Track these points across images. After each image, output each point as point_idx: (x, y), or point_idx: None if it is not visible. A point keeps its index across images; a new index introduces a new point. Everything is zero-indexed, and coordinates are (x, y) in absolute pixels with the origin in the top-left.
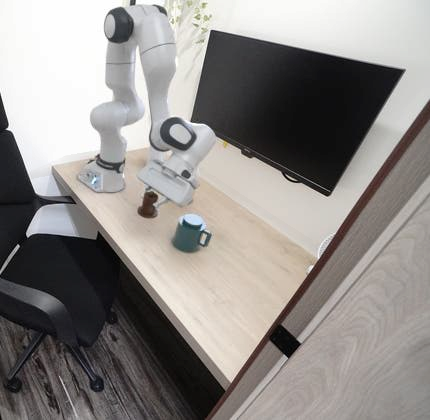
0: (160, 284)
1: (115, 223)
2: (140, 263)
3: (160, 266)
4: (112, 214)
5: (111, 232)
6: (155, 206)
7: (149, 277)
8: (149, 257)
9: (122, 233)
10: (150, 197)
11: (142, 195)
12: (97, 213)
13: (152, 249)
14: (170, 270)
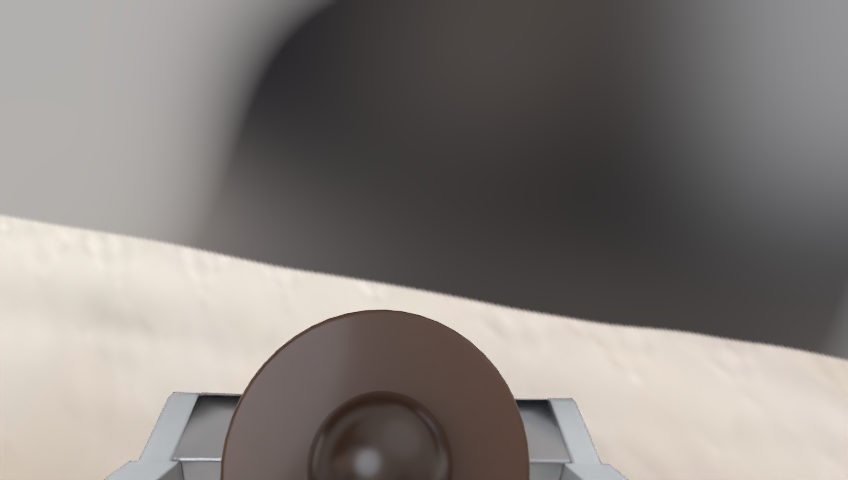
0: (12, 259)
1: (632, 414)
2: (217, 280)
3: (112, 378)
4: (738, 470)
5: (557, 318)
6: (180, 392)
7: (97, 243)
8: (219, 375)
9: (513, 381)
10: (333, 392)
11: (546, 416)
12: (786, 370)
13: None
14: (40, 412)
